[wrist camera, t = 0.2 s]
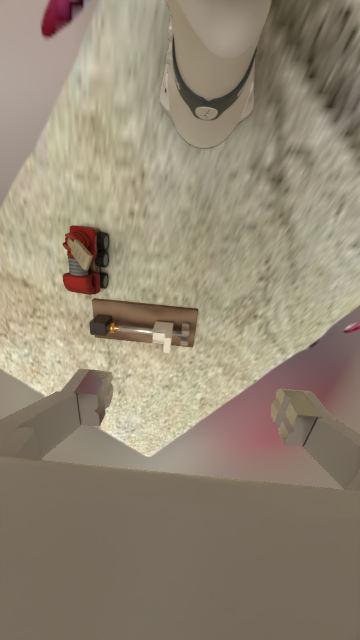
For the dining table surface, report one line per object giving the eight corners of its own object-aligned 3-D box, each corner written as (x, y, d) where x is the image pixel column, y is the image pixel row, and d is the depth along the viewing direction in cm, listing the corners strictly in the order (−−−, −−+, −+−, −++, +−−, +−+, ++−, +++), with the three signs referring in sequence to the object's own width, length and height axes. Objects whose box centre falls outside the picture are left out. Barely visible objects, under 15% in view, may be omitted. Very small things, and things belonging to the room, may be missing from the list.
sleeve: (155, 321, 57) (150, 336, 49) (173, 323, 57) (171, 338, 49) (155, 334, 59) (149, 350, 51) (172, 336, 59) (169, 353, 51)
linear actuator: (94, 298, 59) (81, 307, 52) (197, 308, 59) (198, 319, 52) (97, 335, 63) (86, 347, 56) (192, 344, 63) (193, 358, 57)
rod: (98, 314, 59) (89, 322, 54) (189, 323, 59) (189, 332, 54) (99, 325, 60) (90, 334, 55) (187, 334, 60) (187, 344, 55)
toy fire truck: (78, 284, 57) (35, 304, 41) (76, 224, 51) (25, 220, 35) (118, 291, 58) (91, 314, 41) (121, 232, 51) (91, 232, 35)
